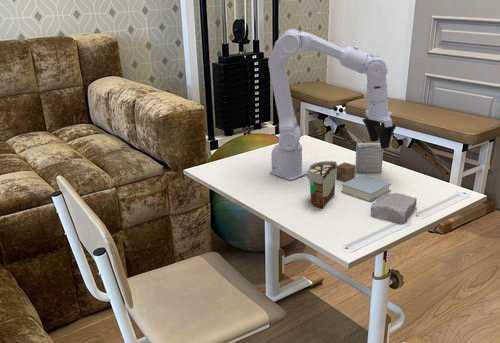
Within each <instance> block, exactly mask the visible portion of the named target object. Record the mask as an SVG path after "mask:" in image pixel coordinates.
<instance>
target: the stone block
mask: <svg viewBox="0 0 500 343" xmlns="http://www.w3.org/2000/svg"><path fill="white" fill-rule="evenodd" d="M417 199H418V198H417V197H412V196H410V195H407V194H404V193H398V192H393V193H391V192H388V193H387V194H383V195H381V197H379V198H377V199H375V200H374V202H373V203H372V204H371V206H370V215H371V217H372V218H374V219H377V220H381V221H386V222H391V221H392V223H395V222H397V224H401V225H402V224H405V223H406V222H407V221H408V219H409V217H410V216H411V214H412V213H413V212H414V210H415V209H416V207H417Z"/></svg>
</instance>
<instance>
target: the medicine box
mask: <svg viewBox="0 0 500 343" xmlns="http://www.w3.org/2000/svg"><path fill="white" fill-rule="evenodd" d="M355 147H356V148H355V162H354V163H355V173H358V174H359V173H360V174H361V173H362V174H363V173H379V174H380V173H382V172H383V158H384V149H382V148H381V145H380V142H356V145H355Z"/></svg>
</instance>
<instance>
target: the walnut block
mask: <svg viewBox="0 0 500 343" xmlns="http://www.w3.org/2000/svg"><path fill="white" fill-rule="evenodd" d="M355 177H356V168H355V165H354V164H351V163H347V162H342V163H340V164H337V168H336V179H335V181H336V180H337V181H340V182H343V183H345V182H347V181H349V180H351V179H353V178H355Z"/></svg>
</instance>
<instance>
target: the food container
mask: <svg viewBox="0 0 500 343" xmlns="http://www.w3.org/2000/svg"><path fill="white" fill-rule="evenodd" d="M337 165H338V164H337V161H334V160H333V161H332V160H325V161H319V162H315V163H313V164H310V166H309V167H308V169H307V171H306V172H307V174H306V177H307V179H308V180H309V189H310V190H309V191H310V203H311V205H312V206H313V207H315V208H318V209H322V210H324V209H325V208H326V206H327V205H328V204H329V203H330V202H331V201H332V199H333V198H334V197H335V193H336V168H337Z"/></svg>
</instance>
